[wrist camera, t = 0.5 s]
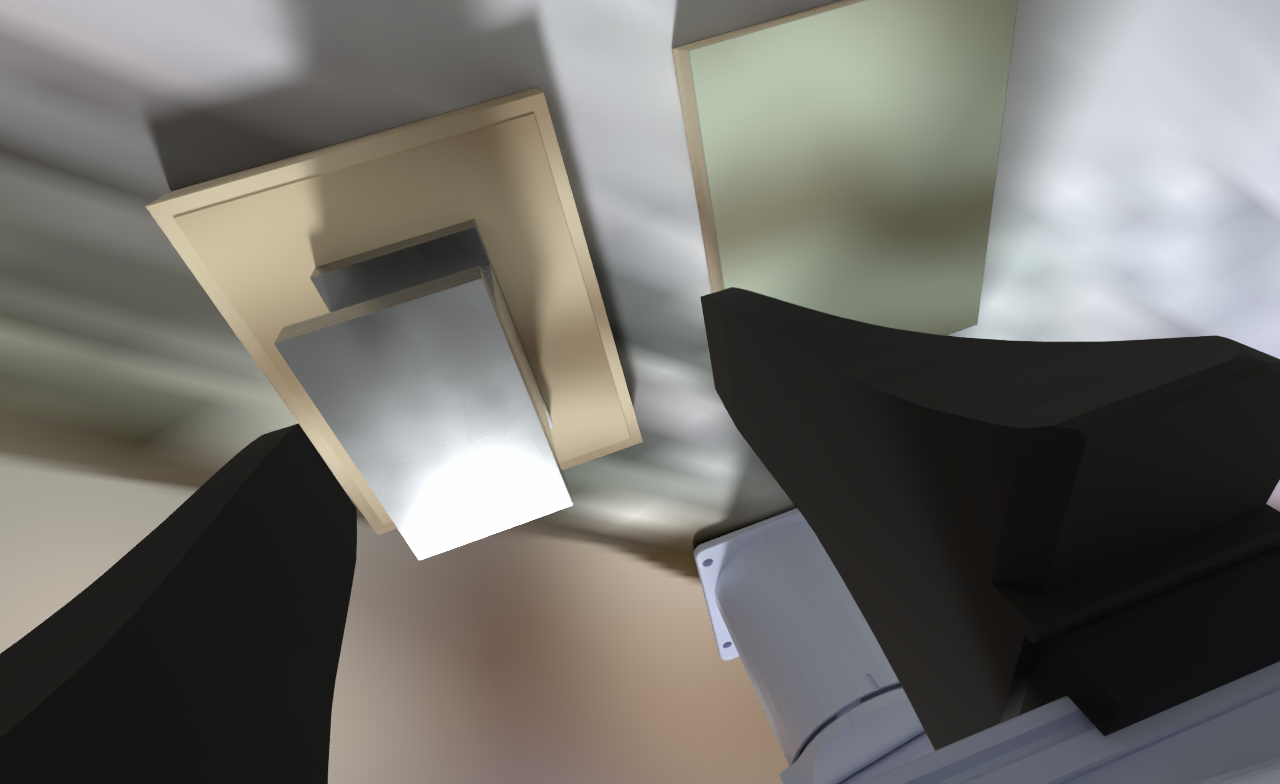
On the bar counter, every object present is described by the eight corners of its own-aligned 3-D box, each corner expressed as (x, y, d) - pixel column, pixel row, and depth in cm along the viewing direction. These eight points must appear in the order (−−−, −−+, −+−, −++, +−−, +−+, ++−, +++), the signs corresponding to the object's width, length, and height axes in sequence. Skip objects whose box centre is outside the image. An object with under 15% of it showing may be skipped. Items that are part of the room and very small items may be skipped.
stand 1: (632, 419, 23) (643, 442, 22) (381, 507, 22) (377, 536, 21) (536, 87, 16) (543, 92, 15) (170, 191, 16) (144, 207, 14)
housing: (550, 415, 20) (573, 505, 17) (425, 457, 20) (418, 560, 16) (474, 218, 16) (481, 278, 13) (315, 267, 16) (274, 343, 12)
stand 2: (950, 309, 25) (977, 324, 23) (727, 386, 24) (742, 407, 22) (983, -41, 18) (1023, -45, 17) (671, 48, 17) (689, 51, 16)
